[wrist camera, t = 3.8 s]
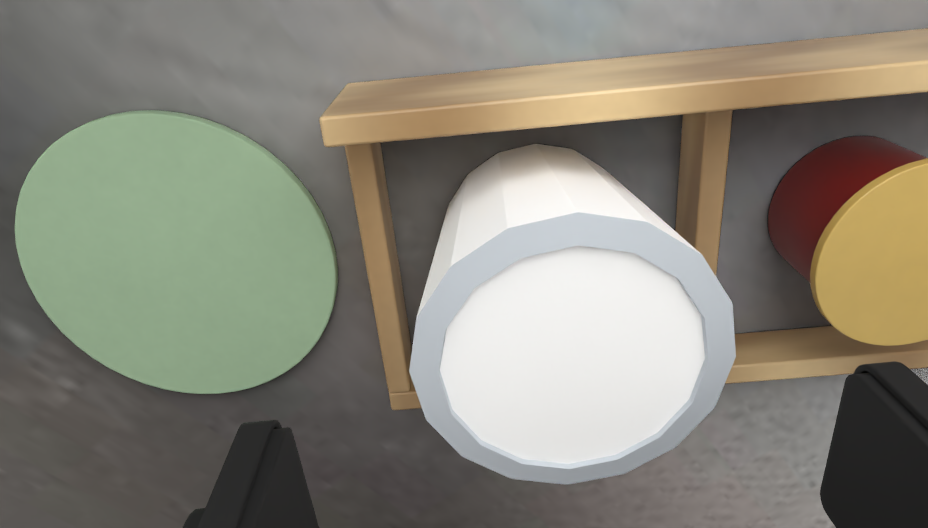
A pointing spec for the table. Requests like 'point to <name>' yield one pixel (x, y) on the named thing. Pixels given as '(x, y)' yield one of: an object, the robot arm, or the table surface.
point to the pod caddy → (612, 99)
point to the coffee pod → (859, 236)
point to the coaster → (176, 252)
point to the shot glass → (565, 323)
